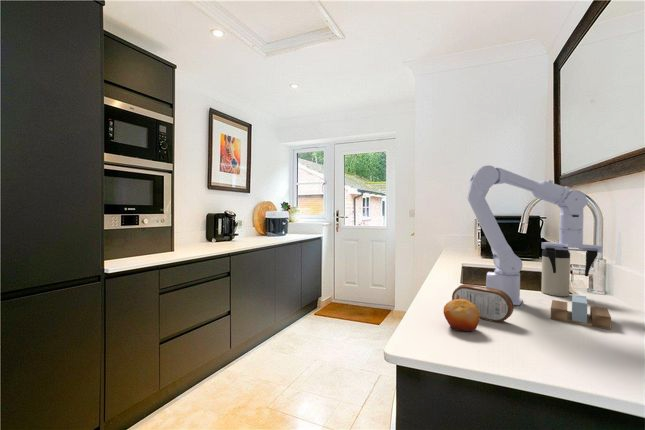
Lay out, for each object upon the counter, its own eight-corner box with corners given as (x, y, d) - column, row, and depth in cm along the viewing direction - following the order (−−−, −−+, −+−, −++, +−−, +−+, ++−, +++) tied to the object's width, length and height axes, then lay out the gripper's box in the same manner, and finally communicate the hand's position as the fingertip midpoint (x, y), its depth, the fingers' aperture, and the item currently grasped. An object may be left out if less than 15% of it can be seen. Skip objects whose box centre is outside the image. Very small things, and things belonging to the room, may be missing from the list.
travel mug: (560, 297, 107) (561, 244, 106) (536, 292, 114) (537, 242, 114) (574, 295, 110) (575, 243, 110) (550, 290, 117) (551, 241, 117)
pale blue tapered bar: (572, 320, 82) (572, 301, 82) (571, 312, 90) (572, 294, 89) (587, 323, 81) (587, 303, 81) (585, 314, 88) (585, 296, 88)
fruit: (475, 317, 82) (478, 294, 78) (479, 343, 75) (482, 319, 71) (442, 313, 84) (443, 291, 80) (443, 338, 78) (444, 315, 74)
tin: (513, 323, 82) (514, 290, 82) (510, 326, 79) (511, 292, 79) (454, 310, 92) (454, 281, 92) (450, 312, 90) (450, 283, 90)
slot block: (550, 318, 85) (550, 307, 85) (552, 310, 93) (552, 299, 93) (610, 329, 78) (611, 317, 78) (606, 318, 86) (607, 307, 86)
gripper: (541, 229, 98) (540, 273, 98) (603, 231, 89) (602, 279, 89) (542, 228, 103) (541, 269, 104) (601, 230, 94) (600, 275, 95)
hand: (570, 274), depth 97 cm, fingers open, 7 cm apart
